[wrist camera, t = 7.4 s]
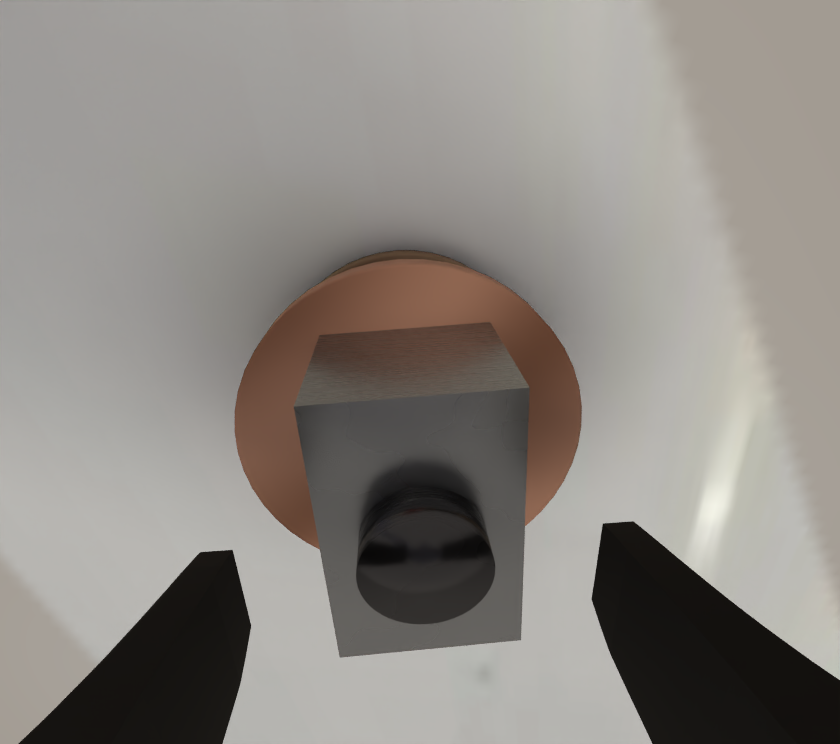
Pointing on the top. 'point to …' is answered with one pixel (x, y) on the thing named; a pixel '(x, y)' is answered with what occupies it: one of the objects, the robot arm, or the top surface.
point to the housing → (417, 485)
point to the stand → (385, 310)
